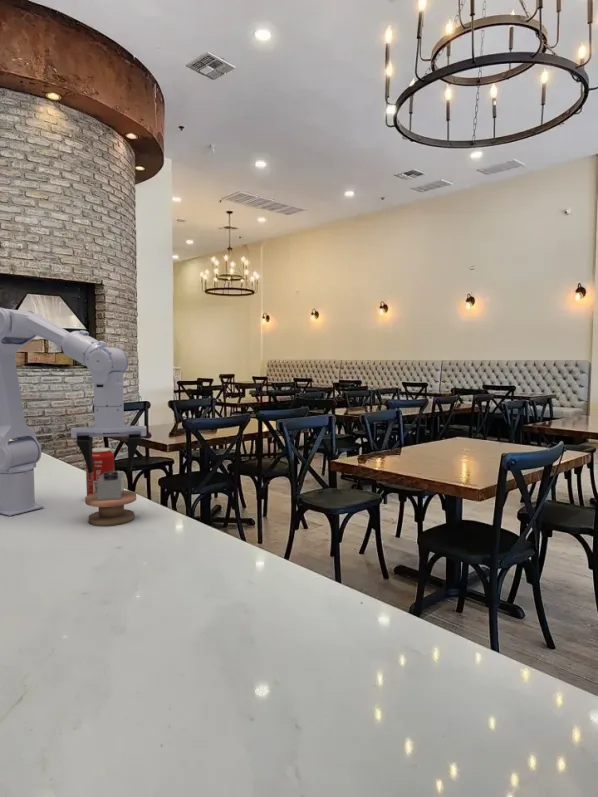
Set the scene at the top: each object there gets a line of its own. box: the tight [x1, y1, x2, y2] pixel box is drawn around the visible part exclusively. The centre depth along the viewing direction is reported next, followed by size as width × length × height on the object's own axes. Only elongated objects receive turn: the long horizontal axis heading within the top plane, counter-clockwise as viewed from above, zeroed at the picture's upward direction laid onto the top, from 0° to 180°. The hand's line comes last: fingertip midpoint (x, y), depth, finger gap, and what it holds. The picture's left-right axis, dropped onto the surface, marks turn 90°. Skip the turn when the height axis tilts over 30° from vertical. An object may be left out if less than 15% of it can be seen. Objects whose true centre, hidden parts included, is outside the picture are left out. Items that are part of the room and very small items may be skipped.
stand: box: [84, 489, 137, 527], centre depth 113 cm, size 10×10×5 cm
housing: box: [97, 470, 125, 501], centre depth 112 cm, size 4×7×5 cm, turn 14°
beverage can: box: [85, 447, 115, 496], centre depth 129 cm, size 6×6×12 cm
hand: (110, 471), depth 112 cm, fingers open, 7 cm apart
